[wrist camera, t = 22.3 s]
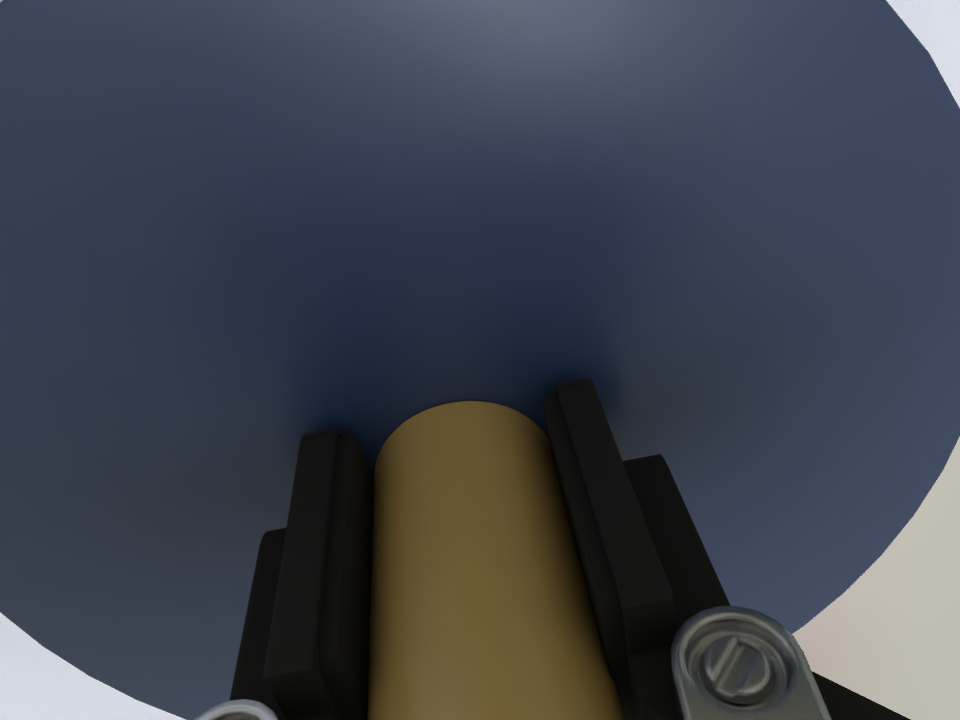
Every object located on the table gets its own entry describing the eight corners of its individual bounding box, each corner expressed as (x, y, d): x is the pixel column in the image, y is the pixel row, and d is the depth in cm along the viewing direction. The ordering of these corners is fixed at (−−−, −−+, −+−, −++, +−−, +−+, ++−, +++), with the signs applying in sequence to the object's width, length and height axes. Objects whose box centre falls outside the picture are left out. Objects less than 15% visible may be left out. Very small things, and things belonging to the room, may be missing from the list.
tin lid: (179, 763, 17) (93, 1134, 12) (-421, 2, 8) (-1739, 237, 3) (880, 629, 17) (1085, 952, 12) (1080, -321, 8) (2315, -641, 3)
